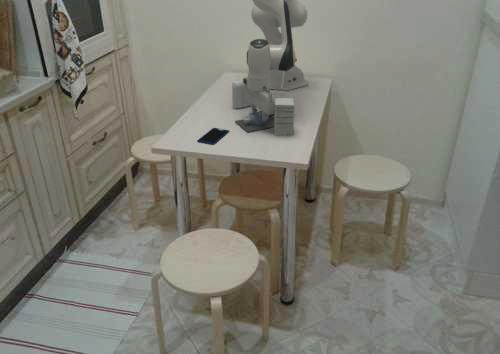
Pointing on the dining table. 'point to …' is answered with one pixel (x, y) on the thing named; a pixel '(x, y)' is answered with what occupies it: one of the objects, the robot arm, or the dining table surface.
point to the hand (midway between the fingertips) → (259, 116)
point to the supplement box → (284, 116)
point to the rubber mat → (253, 128)
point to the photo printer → (239, 95)
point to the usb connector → (256, 118)
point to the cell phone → (213, 136)
